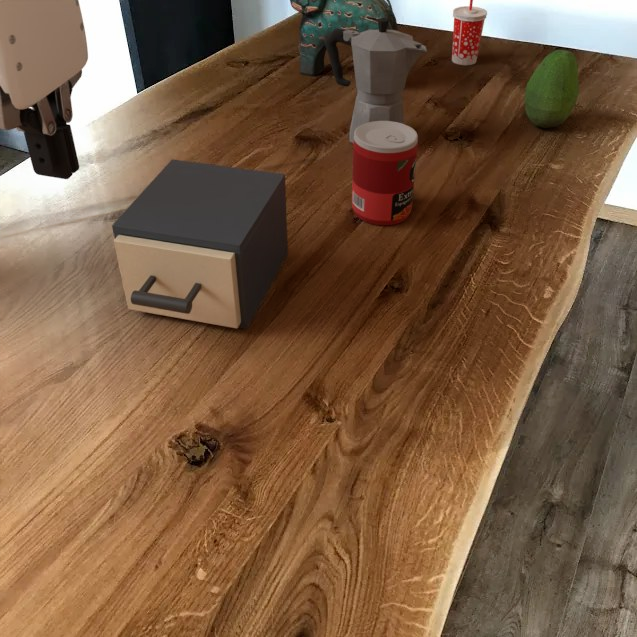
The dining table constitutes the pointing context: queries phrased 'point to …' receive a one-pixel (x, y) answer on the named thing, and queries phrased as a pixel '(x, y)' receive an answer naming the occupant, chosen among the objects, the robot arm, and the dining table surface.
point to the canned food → (383, 172)
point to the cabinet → (218, 220)
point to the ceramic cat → (335, 25)
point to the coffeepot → (376, 71)
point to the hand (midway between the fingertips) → (57, 171)
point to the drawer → (179, 280)
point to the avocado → (552, 89)
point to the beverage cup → (467, 33)
